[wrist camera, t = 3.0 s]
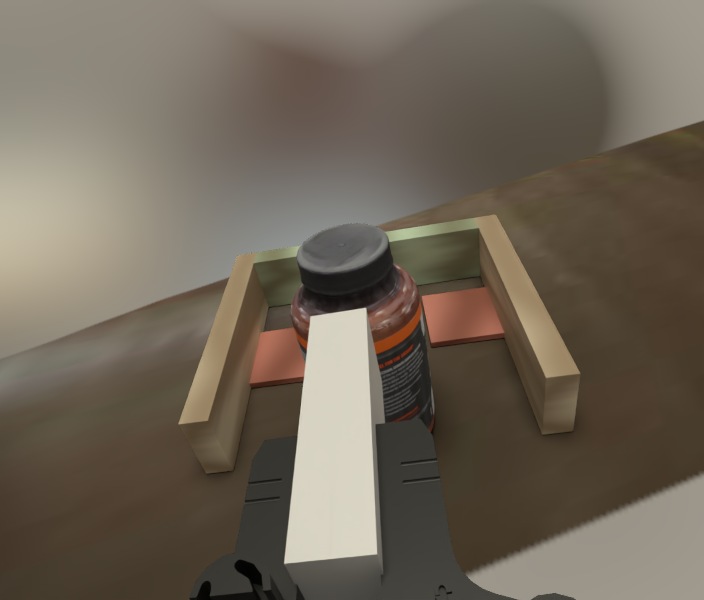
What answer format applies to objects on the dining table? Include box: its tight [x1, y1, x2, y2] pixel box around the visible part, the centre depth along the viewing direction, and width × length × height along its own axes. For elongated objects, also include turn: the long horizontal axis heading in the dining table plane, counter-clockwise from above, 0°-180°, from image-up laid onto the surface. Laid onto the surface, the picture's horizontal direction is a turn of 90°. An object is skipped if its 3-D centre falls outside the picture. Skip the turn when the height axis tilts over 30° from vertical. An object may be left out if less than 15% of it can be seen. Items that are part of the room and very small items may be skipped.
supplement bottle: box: [291, 223, 435, 433], centre depth 24 cm, size 6×6×11 cm
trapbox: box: [178, 215, 580, 474], centre depth 31 cm, size 19×16×4 cm
